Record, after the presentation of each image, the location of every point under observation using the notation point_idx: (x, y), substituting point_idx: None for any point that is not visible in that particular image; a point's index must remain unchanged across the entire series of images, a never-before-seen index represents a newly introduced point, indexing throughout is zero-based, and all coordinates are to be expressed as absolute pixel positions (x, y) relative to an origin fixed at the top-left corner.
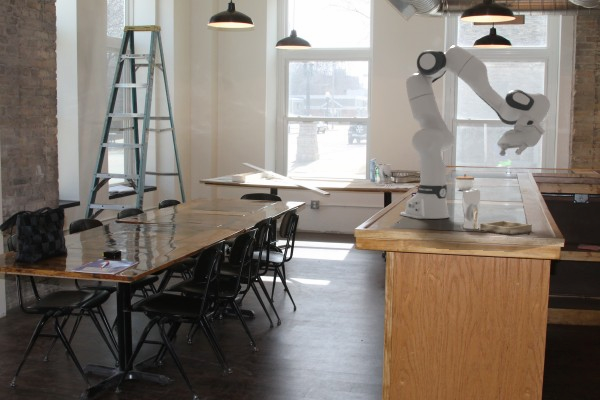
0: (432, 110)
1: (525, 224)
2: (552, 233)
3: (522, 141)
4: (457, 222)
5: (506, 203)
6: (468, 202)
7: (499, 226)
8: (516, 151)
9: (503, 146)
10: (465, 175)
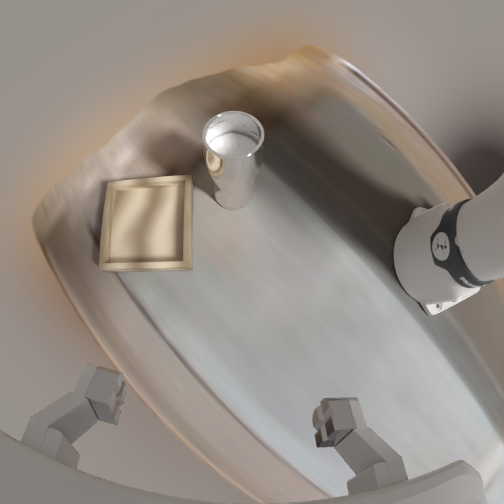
0: None
1: (112, 263)
2: (67, 286)
3: (25, 449)
4: (330, 240)
5: None
6: (222, 133)
7: (134, 181)
8: (104, 373)
9: (375, 467)
10: None
